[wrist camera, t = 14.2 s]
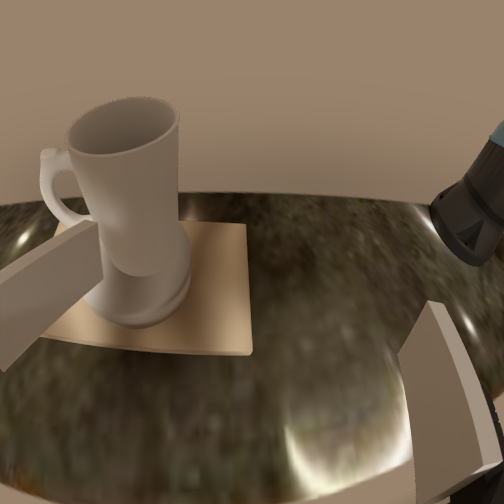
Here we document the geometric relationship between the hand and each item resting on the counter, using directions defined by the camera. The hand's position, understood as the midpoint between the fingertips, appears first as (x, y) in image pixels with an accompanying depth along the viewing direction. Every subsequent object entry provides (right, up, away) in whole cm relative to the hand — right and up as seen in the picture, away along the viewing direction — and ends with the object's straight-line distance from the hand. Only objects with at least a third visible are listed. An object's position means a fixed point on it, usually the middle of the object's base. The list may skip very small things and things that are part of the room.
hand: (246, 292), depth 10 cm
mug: (-11, +2, +13) cm, 17 cm away
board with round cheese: (-11, -2, +17) cm, 20 cm away
